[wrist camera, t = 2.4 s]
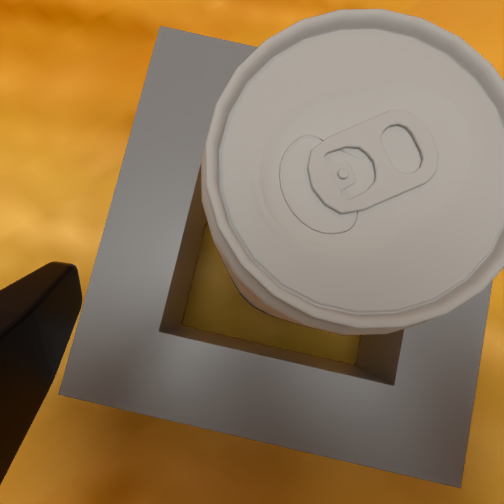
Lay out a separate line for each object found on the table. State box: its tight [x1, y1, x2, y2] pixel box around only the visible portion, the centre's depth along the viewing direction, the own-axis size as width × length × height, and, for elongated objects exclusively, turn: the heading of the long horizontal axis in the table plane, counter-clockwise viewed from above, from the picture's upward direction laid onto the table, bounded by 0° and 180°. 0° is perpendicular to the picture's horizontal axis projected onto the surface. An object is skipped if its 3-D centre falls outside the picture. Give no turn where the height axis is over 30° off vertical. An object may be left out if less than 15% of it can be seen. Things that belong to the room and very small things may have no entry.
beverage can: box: [201, 9, 504, 335], centre depth 12 cm, size 5×5×12 cm
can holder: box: [59, 26, 493, 488], centre depth 15 cm, size 12×12×4 cm
